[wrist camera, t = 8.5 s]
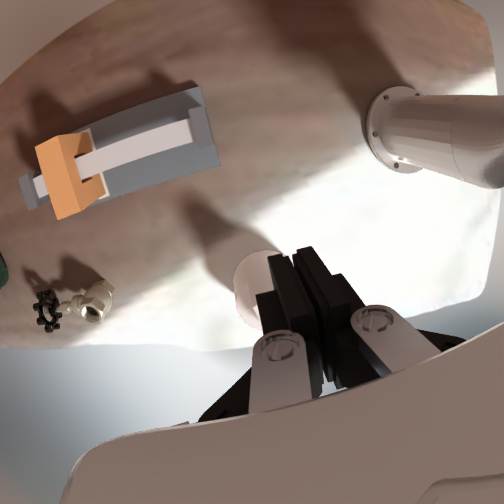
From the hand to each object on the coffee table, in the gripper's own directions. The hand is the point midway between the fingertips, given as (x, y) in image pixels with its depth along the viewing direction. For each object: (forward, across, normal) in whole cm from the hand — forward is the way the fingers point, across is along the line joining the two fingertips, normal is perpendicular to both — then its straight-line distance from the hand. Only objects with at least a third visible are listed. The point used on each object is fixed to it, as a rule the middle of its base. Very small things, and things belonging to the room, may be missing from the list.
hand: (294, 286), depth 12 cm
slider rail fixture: (+28, +14, -6) cm, 32 cm away
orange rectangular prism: (+26, +18, -6) cm, 32 cm away
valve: (+28, +27, +11) cm, 41 cm away
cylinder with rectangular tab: (+29, 0, +15) cm, 33 cm away
